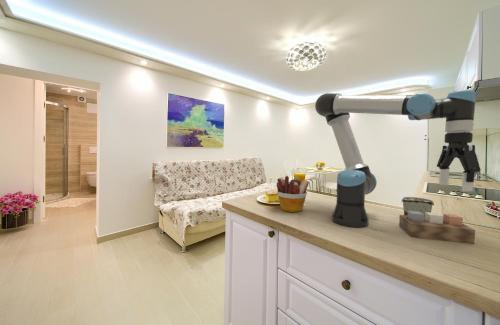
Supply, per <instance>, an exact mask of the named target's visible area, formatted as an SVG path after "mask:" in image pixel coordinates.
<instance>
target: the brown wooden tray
mask: <svg viewBox="0 0 500 325" xmlns="http://www.w3.org/2000/svg"><path fill="white" fill-rule="evenodd" d="M398 226H399V227H400V229H402V230H403V231H404V232H405V233H406V234H407V235H408V236H410V237H412V238H419V239H428V240H436V241H437V240H438V241H439V240H440V241H446V242H447V241H448V242H456V243H466V244H475V241H476V240H475V238H476V237H475V236H476V229H474V228H473V227H470V226H468V225H466V224H464V223H463V224H462V226H458V225H448V224H446V223H444V222H443V224H436V223H428V222H427V221H425V217H424V222H413V221H410V220H408V215H404V214H399V223H398Z"/></svg>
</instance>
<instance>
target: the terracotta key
mask: <svg viewBox="0 0 500 325" xmlns="http://www.w3.org/2000/svg"><path fill="white" fill-rule="evenodd" d="M442 216H443V222H444V223H446V224H448V225H458V226H462V224H464V223H463V222H464V218H463V217H462V216H460V215H458V214H455V213H454V214H453V213H452V214H451V213H443V214H442Z"/></svg>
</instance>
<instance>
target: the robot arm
mask: <svg viewBox="0 0 500 325" xmlns="http://www.w3.org/2000/svg"><path fill="white" fill-rule="evenodd" d="M314 110H315V111H316V113H317V114H319V116H321V117H324V118H325V121H326V124H327V125H328V126H329V127H331V128H332V131H333V134H334V138H335V140H336V143H337V145H338V146H337V147H338V149H339V151H340V154H341V157H342V160H343V163H344V166H345V169H344V170H342V171H339V172H338V173H337V176H336V204H335V207H334V209H333V211H332V215H331V220H332V222H334V223H335V224H338V225H339V226H345V227H348V228H349V227H351V228H364V227H367V226H368V225H369V217H368V214H367V211H366V207H365V200H366V198H365V197H366V195H369V194H371V193H372V192H373V191H374V190H375V189H376V188H377V182H378V181H377V178H376V176H375V175H374V174H373V173H372V172H371V169H370V167H369V165H368V164H366V163H364V161H363V157H362V155H361V153H360V150H359V147H358V144H357V141H356V138H355V135H354V133H353V130H352V126H351V124H350V122H349V120H350V117H351V115H350V113H351V114H369V115H371V114H372V115H373V114H374V115H392V116H393V115H396V116H407V118H408V120H410V121H422V120H434V119H445V124H444V125H445V127H444V128H445V129H444V132H445V134H444V140H443V142H444V143H445V144H448V145H442V149H441V153H440V156H439V159H438V160H437V163H436V168H439V170H440V171H439V180H438V181H439V185H440V186H449V180H450V179H449V177H450V166H451V164H452V163H453V161H454V160H455V159H456V158H457V159H458V160H459V163H460V164H461V167H462V168H463V171H462V183H461V192H474V183H475V174H476V173H479V172H481V171H482V170H481V167H480V164H479V159H478V157H477V152H476V145H475V144H470V143H472V142H473V135H474V133H473V131H474V125H475V124H474V121H475V110H476V92H475V90H473V89H459V90H455V91H450V92H449V93H447V96H446V97H445V98H440V99H439V98H438V99H435V97H434V96H433V95H431V94H429V93H427V92H418V93H415V94H393V95H392V94H389V95H388V94H386V95H385V94H381V95H376V94H375V95H373V94H371V95H370V94H369V95H368V94H367V95H343V94H341V93H334V92H333V93H330V92H326V93H323V94H321V95H319V96H318V98H317V99H316V101H315V104H314Z"/></svg>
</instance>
